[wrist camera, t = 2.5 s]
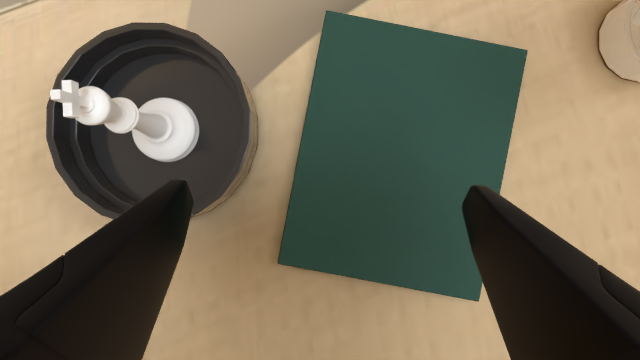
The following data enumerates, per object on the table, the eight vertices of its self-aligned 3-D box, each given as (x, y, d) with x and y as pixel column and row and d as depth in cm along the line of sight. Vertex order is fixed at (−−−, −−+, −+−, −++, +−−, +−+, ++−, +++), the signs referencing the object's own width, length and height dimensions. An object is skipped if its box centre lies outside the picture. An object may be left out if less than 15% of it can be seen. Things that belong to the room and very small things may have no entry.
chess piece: (137, 163, 23) (1, 151, 13) (134, 100, 23) (-4, 40, 13) (200, 160, 23) (113, 147, 13) (198, 97, 23) (108, 36, 13)
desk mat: (474, 298, 24) (479, 301, 23) (278, 261, 24) (277, 263, 23) (522, 53, 24) (528, 49, 23) (326, 14, 24) (326, 9, 23)
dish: (225, 243, 24) (211, 252, 21) (56, 186, 24) (18, 187, 21) (282, 76, 24) (277, 61, 21) (113, 18, 24) (84, -6, 20)
